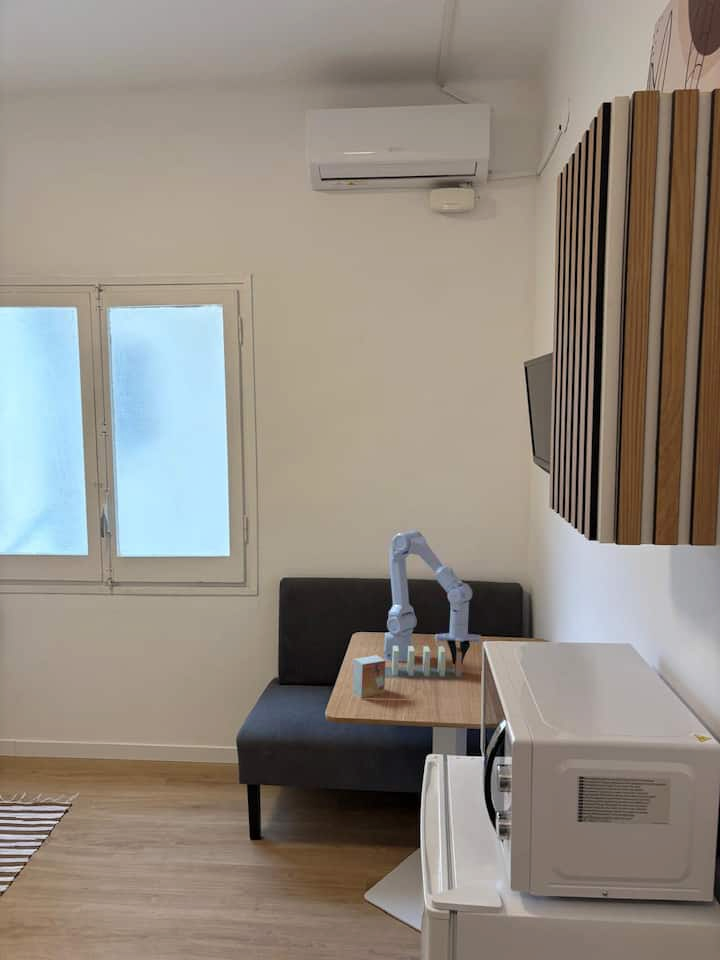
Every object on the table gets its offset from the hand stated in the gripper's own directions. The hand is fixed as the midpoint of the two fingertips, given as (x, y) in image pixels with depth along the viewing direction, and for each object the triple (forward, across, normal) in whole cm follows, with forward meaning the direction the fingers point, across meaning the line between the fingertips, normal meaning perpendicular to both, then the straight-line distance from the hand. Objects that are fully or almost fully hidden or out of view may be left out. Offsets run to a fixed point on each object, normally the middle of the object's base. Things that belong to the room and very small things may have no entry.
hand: (457, 663), depth 220 cm
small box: (+4, -29, -16) cm, 33 cm away
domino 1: (+3, -20, 0) cm, 20 cm away
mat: (+4, -12, 0) cm, 12 cm away
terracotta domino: (+3, 0, 0) cm, 3 cm away
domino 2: (+3, -15, 0) cm, 15 cm away
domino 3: (+3, -10, 0) cm, 11 cm away
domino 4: (+3, -5, 0) cm, 6 cm away
